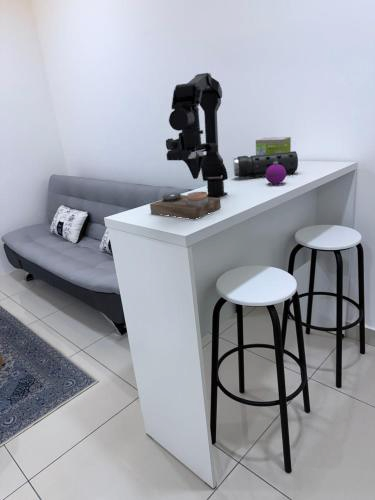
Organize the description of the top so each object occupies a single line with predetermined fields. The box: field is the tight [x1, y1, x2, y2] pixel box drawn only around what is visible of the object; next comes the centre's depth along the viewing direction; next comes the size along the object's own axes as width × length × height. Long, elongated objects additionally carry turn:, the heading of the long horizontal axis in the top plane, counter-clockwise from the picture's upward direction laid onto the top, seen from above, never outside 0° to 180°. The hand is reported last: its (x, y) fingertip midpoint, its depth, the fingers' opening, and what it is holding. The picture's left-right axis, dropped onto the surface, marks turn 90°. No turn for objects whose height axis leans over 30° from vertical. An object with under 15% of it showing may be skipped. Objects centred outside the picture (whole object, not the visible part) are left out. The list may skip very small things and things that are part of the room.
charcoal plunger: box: [161, 191, 181, 203], centre depth 126 cm, size 6×6×5 cm
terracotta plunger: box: [187, 191, 208, 206], centre depth 118 cm, size 6×6×5 cm
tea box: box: [255, 136, 292, 155], centre depth 181 cm, size 15×10×15 cm, turn 53°
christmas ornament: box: [265, 160, 287, 185], centre depth 146 cm, size 8×8×10 cm
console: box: [149, 194, 222, 220], centre depth 122 cm, size 14×20×4 cm
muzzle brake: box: [232, 150, 299, 179], centre depth 163 cm, size 10×28×10 cm, turn 89°
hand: (195, 178), depth 115 cm, fingers closed
